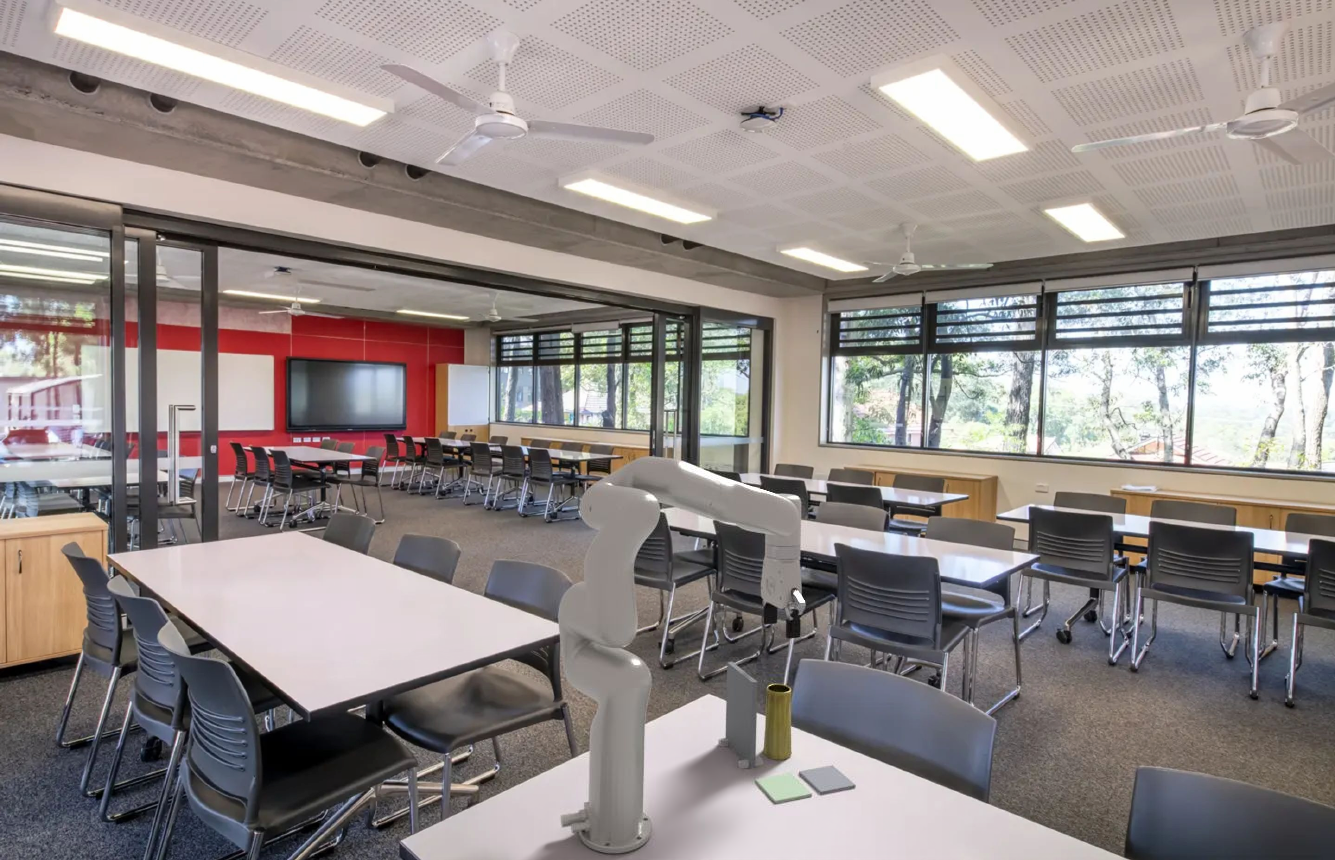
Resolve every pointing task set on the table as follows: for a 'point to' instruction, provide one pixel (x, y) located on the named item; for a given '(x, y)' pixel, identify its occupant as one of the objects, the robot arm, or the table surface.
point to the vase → (778, 722)
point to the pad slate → (827, 779)
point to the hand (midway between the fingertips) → (781, 630)
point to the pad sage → (783, 788)
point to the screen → (741, 716)
